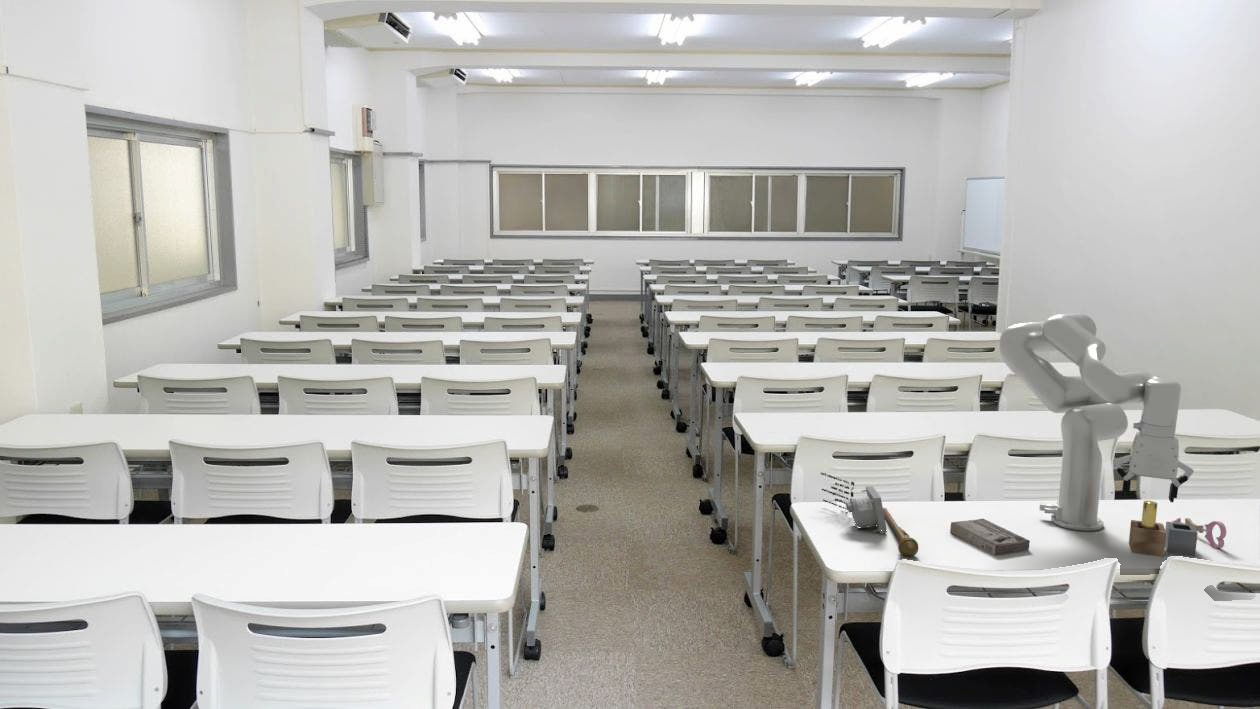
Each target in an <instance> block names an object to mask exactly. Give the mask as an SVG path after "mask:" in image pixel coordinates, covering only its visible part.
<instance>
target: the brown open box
mask: <svg viewBox="0 0 1260 709" xmlns="http://www.w3.org/2000/svg"><path fill="white" fill-rule="evenodd" d="M1141 523H1142V520H1136V519H1130V526H1129V527H1130V528H1129V537H1128V538H1129V539H1128V545H1129V549H1130V552H1131V553H1134V554H1141V555H1142V554H1143V555H1151V556H1157V557H1158V556H1159V557H1164V556H1165V551H1166V549H1165V541H1166V531H1165V529H1166V527H1165V526H1164V523H1162V522H1156V523H1155V530H1152V529H1144V528H1141Z"/></svg>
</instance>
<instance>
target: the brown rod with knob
mask: <svg viewBox="0 0 1260 709" xmlns="http://www.w3.org/2000/svg"><path fill="white" fill-rule="evenodd" d="M883 512H884V518H885V520H886V521H887V522H888V524H889V525H890V527H891V528H892V530H893V531H894V533H895V534H896V537H897V538H898V540H899V542H898V546H897V547H898V548H897V550H898V552H899V553H900V554H901V555H902V556H903V557H907V558H909V557H910V558H912V557H915V556H916V555H917V554H918V552H919V543H918V542H917V540H916V539H914V538H913V537H910V535H909V534H908V533H907V532H906V530H904V529H902V528H901V527H900V526H898V524H897V522H896V521H895V519H894V518H893V517H892V515H891V513H890V512H889V511H888V509H887V508H886V507H883Z"/></svg>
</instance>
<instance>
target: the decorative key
mask: <svg viewBox="0 0 1260 709" xmlns="http://www.w3.org/2000/svg"><path fill="white" fill-rule="evenodd" d="M1171 522H1174V523H1183V524H1191V525H1194V526H1195V528H1196V530H1197V532H1198V533H1199V534H1204V532H1206V533H1205V535H1204V538H1205V539H1206V540H1207V541H1208V544H1209V545H1210V546H1211V547H1212V548H1213V549H1223V548H1224V546H1225V540H1224V539H1225V538H1226V535H1227V527H1226V526H1225V524H1224V522H1222V521H1218V520H1214V521H1211V522H1210V523H1208V524H1202V525H1198V524H1196V523H1195V522H1193V521H1192V519H1191V518H1189V517H1188V518H1186V517H1185V518H1184V522H1183V521H1182V519H1181V517H1177V518H1176V519H1175V520H1171ZM1216 525H1217V526H1218V527H1219V529H1220V530H1219V531H1220V535H1219V536H1217V537H1215V539H1216V540H1217V542H1218V543H1216V540H1214V536H1213V530H1214V527H1215V526H1216ZM1204 527H1205V528H1204Z"/></svg>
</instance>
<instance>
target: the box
mask: <svg viewBox="0 0 1260 709" xmlns="http://www.w3.org/2000/svg"><path fill="white" fill-rule="evenodd" d="M949 530H950V532H949V533H951V534H953V535H955V536H956V537H959V538H960V539H962V540H963V541H964V540H965V541H966V542H968V543H969V544H972V545H974V546H976V547H978V548H979V549H981V550H983V551H985V552H987V553H989V555H993V556H995V557H996V556H1002V555H1007V554H1014V553H1021V552H1027V551H1028V552H1029V550H1030V542H1031V540H1029V539H1026V538H1025V537H1024V536H1021V535H1018V534H1017V533H1014V532H1012V531H1010V530H1008V529H1006V528H1004V527H1001V526H1000V525H998V524H996V523H993V522H991V521H989V520H987V519H985V518H977V519H970V520H961V521H952V522H950V528H949Z"/></svg>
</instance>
